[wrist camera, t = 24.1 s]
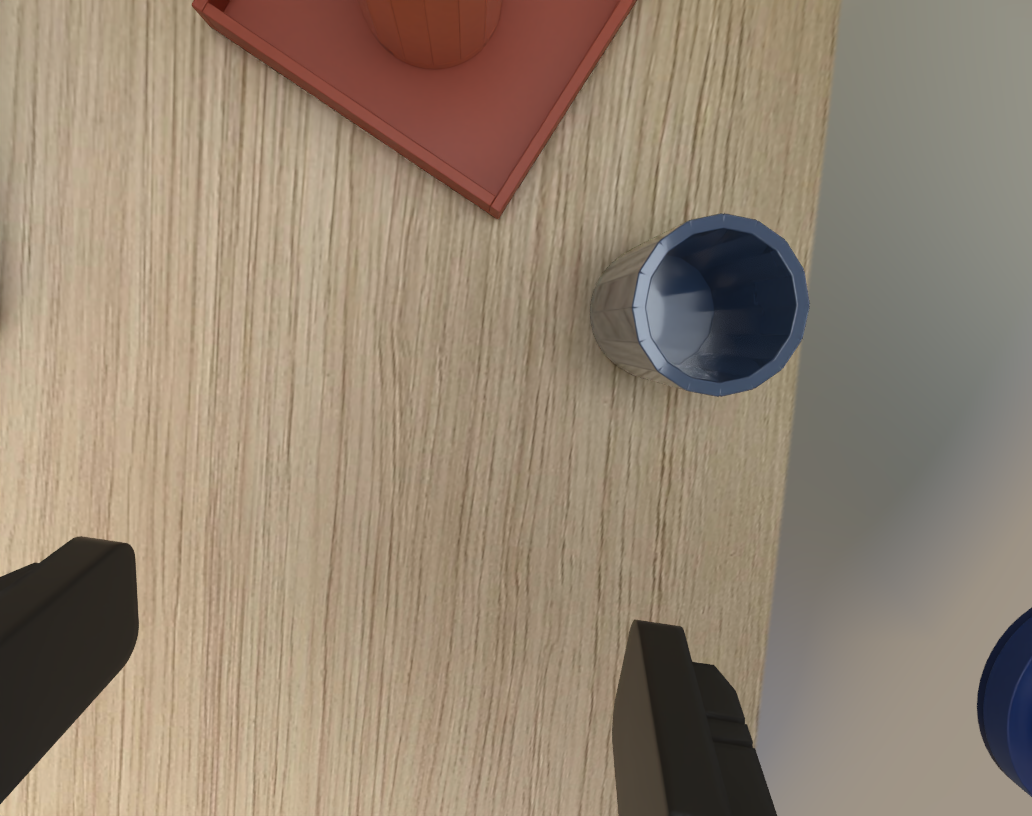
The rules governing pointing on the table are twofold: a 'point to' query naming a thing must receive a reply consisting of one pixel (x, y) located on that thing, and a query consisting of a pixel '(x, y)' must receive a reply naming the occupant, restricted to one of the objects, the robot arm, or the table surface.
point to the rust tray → (437, 81)
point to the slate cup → (703, 306)
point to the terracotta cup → (432, 29)
